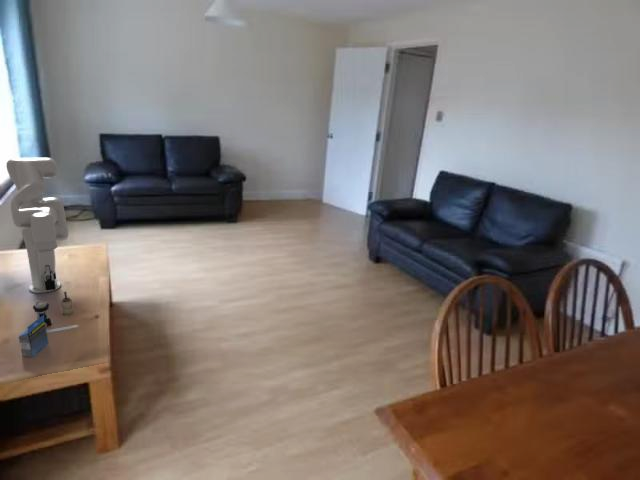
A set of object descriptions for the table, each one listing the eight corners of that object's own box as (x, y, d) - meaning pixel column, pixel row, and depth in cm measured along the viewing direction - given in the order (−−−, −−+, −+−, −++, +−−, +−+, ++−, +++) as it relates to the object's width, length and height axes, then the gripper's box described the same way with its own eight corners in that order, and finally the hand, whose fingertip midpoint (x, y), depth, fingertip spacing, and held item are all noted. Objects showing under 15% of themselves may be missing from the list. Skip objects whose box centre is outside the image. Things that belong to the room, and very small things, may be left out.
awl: (62, 312, 177) (59, 290, 174) (73, 310, 179) (70, 289, 176) (62, 316, 174) (59, 294, 170) (73, 314, 176) (70, 293, 172)
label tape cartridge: (38, 342, 156) (33, 313, 152) (48, 343, 156) (44, 314, 152) (21, 356, 147) (16, 326, 143) (32, 357, 147) (27, 327, 143)
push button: (34, 332, 162) (30, 309, 158) (30, 326, 165) (26, 304, 162) (53, 326, 166) (50, 304, 163) (49, 321, 170) (46, 299, 166)
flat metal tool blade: (39, 332, 162) (39, 331, 162) (77, 325, 169) (77, 324, 169) (39, 334, 160) (39, 334, 160) (78, 327, 167) (78, 326, 167)
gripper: (35, 237, 166) (41, 276, 171) (32, 253, 152) (38, 295, 158) (57, 235, 169) (62, 274, 175) (56, 251, 155) (61, 292, 161)
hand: (51, 284), depth 166 cm, fingers open, 9 cm apart
